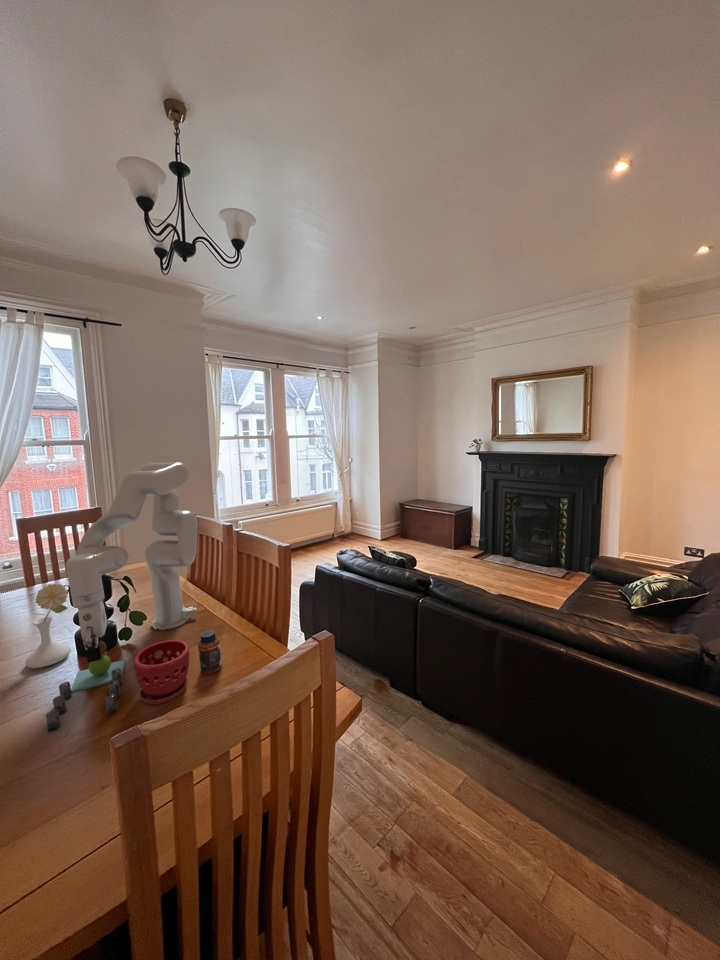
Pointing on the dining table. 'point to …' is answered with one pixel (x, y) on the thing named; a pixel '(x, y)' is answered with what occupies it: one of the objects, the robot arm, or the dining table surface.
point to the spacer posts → (66, 694)
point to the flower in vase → (48, 648)
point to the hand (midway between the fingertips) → (97, 651)
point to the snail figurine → (100, 661)
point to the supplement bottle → (209, 652)
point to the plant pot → (162, 671)
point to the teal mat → (94, 677)
